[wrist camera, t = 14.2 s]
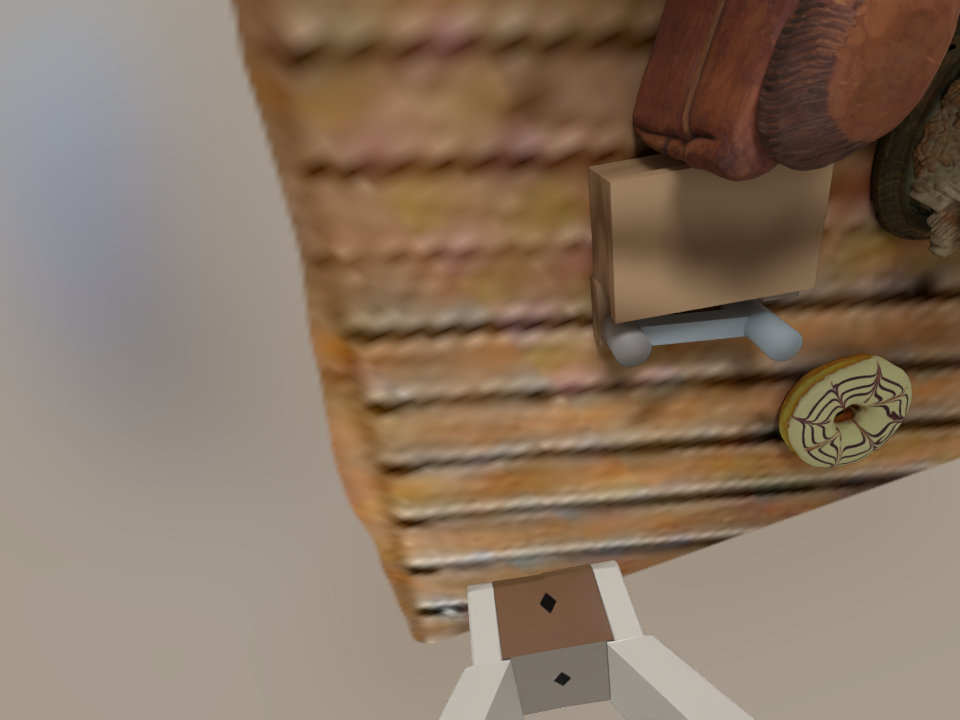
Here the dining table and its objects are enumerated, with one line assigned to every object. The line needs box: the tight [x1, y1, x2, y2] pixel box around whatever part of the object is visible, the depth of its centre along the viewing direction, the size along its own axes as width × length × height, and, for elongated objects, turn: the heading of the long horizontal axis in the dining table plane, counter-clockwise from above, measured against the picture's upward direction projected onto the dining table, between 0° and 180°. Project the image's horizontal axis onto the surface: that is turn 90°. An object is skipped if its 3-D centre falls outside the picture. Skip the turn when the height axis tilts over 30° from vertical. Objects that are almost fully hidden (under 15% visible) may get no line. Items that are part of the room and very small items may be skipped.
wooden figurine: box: [633, 0, 960, 182], centre depth 27 cm, size 12×6×18 cm, turn 167°
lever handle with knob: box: [600, 299, 803, 367], centre depth 40 cm, size 12×3×7 cm, turn 94°
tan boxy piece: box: [588, 154, 834, 346], centre depth 38 cm, size 14×13×7 cm
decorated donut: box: [779, 353, 912, 468], centre depth 48 cm, size 10×11×4 cm
